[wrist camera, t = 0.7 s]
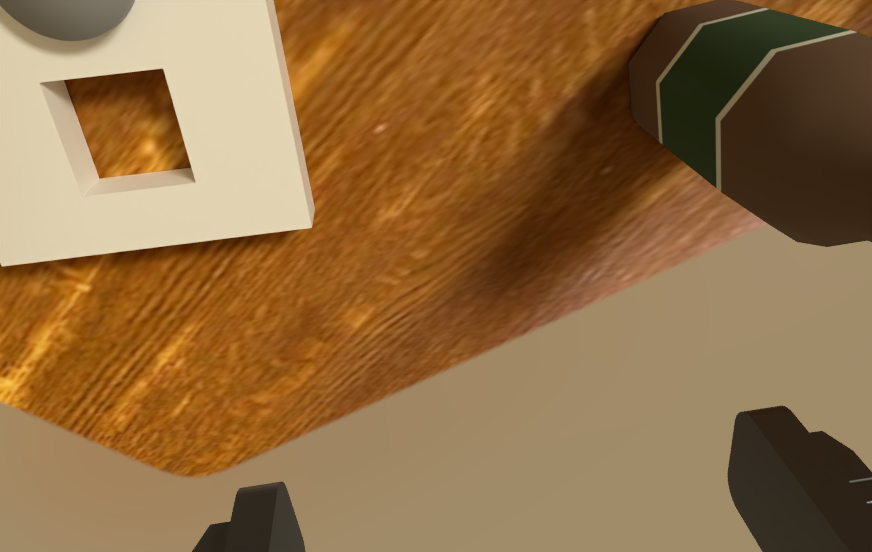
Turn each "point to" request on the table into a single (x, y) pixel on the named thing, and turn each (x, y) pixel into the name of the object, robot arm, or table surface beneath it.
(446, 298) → the table surface
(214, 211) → the carrier plate
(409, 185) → the table surface
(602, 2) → the table surface
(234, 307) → the table surface
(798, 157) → the beer bottle
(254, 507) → the robot arm
